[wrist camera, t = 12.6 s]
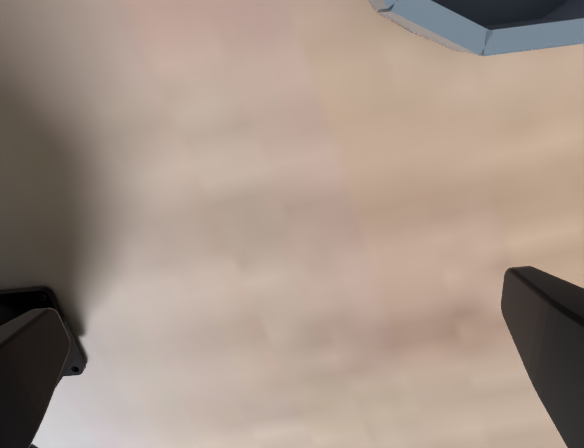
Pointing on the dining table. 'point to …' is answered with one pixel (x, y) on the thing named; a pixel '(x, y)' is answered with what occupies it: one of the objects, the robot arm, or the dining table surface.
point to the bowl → (489, 23)
